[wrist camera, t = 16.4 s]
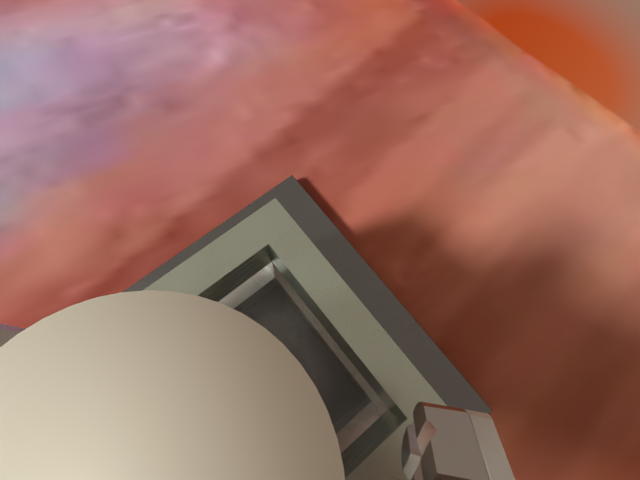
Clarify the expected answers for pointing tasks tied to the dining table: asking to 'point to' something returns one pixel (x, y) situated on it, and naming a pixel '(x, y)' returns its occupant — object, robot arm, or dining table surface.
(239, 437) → the cream tall rounded cylinder
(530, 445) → the dining table surface
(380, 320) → the collar holder
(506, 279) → the dining table surface
